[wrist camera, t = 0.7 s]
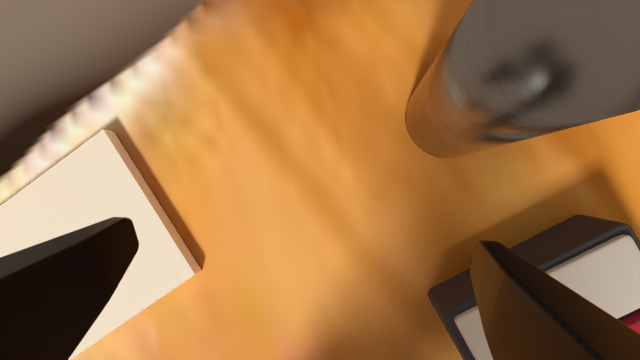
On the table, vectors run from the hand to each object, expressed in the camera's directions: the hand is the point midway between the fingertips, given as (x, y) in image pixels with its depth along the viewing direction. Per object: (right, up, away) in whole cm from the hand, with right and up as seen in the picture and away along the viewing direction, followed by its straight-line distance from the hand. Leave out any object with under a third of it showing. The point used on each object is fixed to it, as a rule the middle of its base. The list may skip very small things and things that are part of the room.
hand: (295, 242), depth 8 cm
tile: (-19, -5, +16) cm, 25 cm away
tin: (+9, +6, +13) cm, 17 cm away
